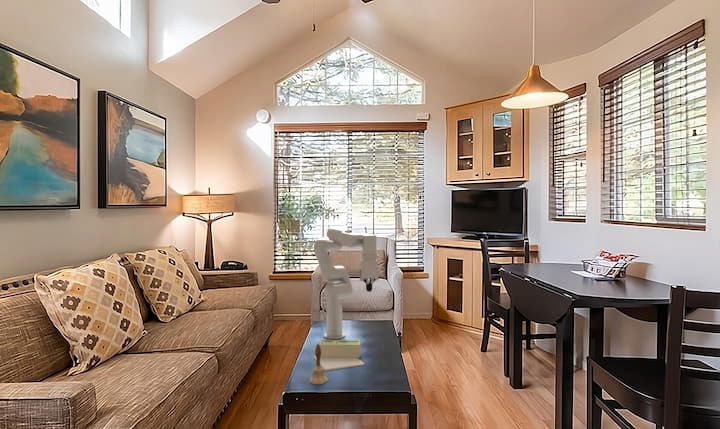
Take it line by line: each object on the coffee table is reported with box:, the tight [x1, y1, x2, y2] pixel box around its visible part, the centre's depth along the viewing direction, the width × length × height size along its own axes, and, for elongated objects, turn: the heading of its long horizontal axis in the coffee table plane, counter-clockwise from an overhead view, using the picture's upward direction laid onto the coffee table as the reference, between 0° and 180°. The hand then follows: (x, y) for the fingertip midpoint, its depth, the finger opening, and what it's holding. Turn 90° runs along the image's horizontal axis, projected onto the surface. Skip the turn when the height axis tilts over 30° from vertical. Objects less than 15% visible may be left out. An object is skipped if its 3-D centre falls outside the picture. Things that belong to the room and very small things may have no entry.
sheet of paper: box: [313, 355, 365, 372], centre depth 214 cm, size 20×20×1 cm
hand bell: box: [308, 343, 329, 385], centre depth 189 cm, size 8×8×16 cm
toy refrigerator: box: [319, 339, 362, 359], centre depth 221 cm, size 8×7×21 cm
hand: (369, 291), depth 231 cm, fingers closed
